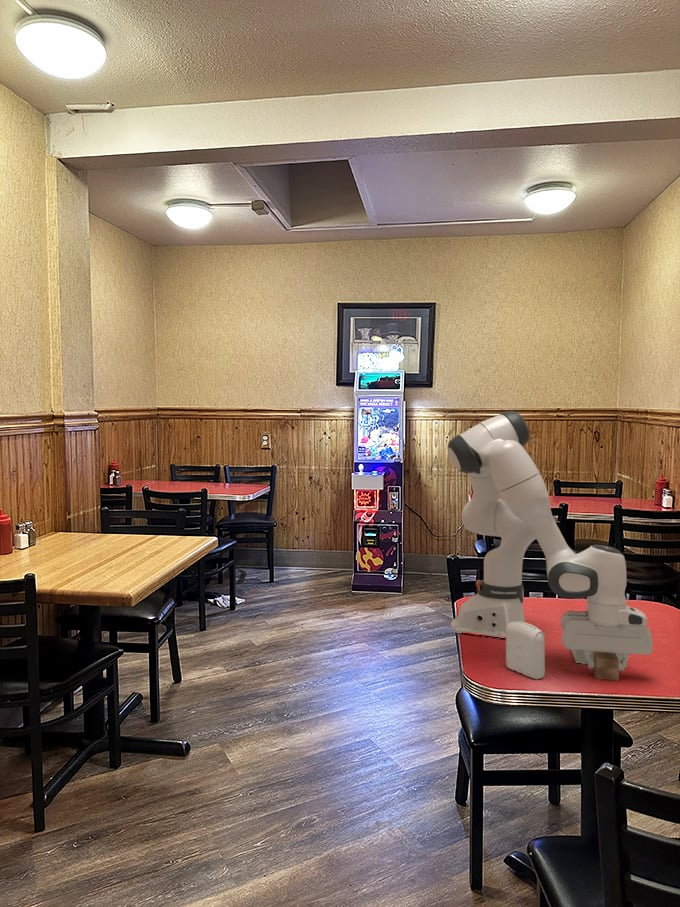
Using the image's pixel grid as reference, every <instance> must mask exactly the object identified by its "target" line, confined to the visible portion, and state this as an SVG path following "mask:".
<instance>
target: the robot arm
mask: <svg viewBox="0 0 680 907" xmlns="http://www.w3.org/2000/svg"><path fill="white" fill-rule="evenodd" d="M529 439H530V429H529V427H528V424H527V422H526V421H525V419H524V417H523V416H522V415H521V414H520V413H518V412H517V411H514V410H508V411H504V412H502V413H499V414H498V415H496V416H493V417H489V418H488V419H485V420H483V421H480V422H478V424H476V425H474V426H472V427H470V428H468V429H467V430H465V431H463V432H462V433H460V434H457V435H455V436H454V437H452V438H451V439H450V440H449V441H448V444H447V452H448V454H447V455H448V458H449V461H450V462H451V465H453V466H454V468H456V469H457V471H458V472H461V473H463V474H467V475H468V479H469V481H470V485H471V489H472V497H471V498H470V500H469V501H468V502H466V503H465V504H464V506H463V509H462V512H461V522H462V524H463V526H464V529H466V530H467V531H469V532H472V533H474V534H478V535H482V536H490V537H500V538H501V541H500V545H499V546H498V547H495V548H493V549H491V550H490V551H488V552H487V553H486V555H485V556H484V558H483V581H482V580H480V579H477V580H476V581H475V586H476V592H477V593H476V594H475V595H473V596H471V597H470V598H468V599H467V600H466V601H464V602H463V603H462V604H461V606H460V608H459V611H458V614H457V617H455V618H453V619H452V620H451V622H450V629H451V630H452V632H453V633H455V634H461V633H462V632H471V633H478V634H484V635H490V636H497V637H506V628H507V625H508V624H509V623H511V622H516V621H520V622H526V620H525V616H524V615H525V614H524V609H523V605H524V604H523V603H524V594H525V593H524V585H523V580H522V579H523V575H522V574H523V562H524V557H525V553H526V551H527V549H528V548H529V547H530V545H531V543H533V542H534V541H535V540H536V541H537V542H538V544H539V547H540V548H541V550H542V552H543V554H544V557H545V570H546V575H547V584H548V586H549V588H550V591H552V592H553V593H554V594H555V595H556V596H558V597H560V598H563V599H566V600H567V599H569V600H571V599H583V598H586V611H585V610H584V611H583V610H577V611H574V610H567V611H566V612H563V613H562V615H561V617H560V625H561V628H562V634H561V643H562V646H563V647H564V648H565V649H566V650H571V651H572V650H583V652H584V655H585V656H586V658H587V660H588V665H587V666H588V669H590V670H591V669H595V660H591V659H590V657H589V655H591V651H599V652H613V653H621V654H622V656H623V657H622V659H621V660H620V662H619V672H625V667H624V664H625V663H626V662H627V663H628V660H629V659H630V654H631V655H642V656H643V655H645V656H649V655H651V653H652V652H653V650H654V648H653V637H652V632H651V629H650V628H649V627H648V626H647V625H648V617H647V616H646V614H645V612H643V611H641V610H640V609H638V608H636V607H632V606H629V605H627V598H626V595H625V594H626V587H627V565H626V559H625V555H624V554H623V553H622V552H621V551H620V550H619V549H617V548H614V547H613V546H608V545H604V544H591V545H590V546H589V547H588V548H586V549H584V550H582V551H580V552H576V551H575V550H574V549H573V548H572V547H570V546H569V544H568V543H567V541H566V540H565V537H564V536H563V534H562V532H561V530H560V528H559V527H558V525H557V523H556V521H555V518H554V516H553V513H552V510H551V509H552V508H551V502H550V495H549V493H548V489H547V487H546V484H545V481H544V478H543V477H542V475H541V473H540V471H539V468H538V467H537V466H536V464H535V463H534V460H533V459H532V458H531V455H529V453H528V452H527V450H525V448H524V446H525V445H526V444H527V443H529Z"/></svg>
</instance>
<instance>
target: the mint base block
mask: <svg viewBox="0 0 680 907" xmlns="http://www.w3.org/2000/svg"><path fill="white" fill-rule="evenodd" d="M594 652H599V651H594ZM608 653H613V652H608ZM571 654H572V656H573V659H574V658H575V659H574V662H575V661H576V662H575V664H576V663H581V664H580V665H585V664H588V660H587V658H586V656H585V655H584V652H583V650H571ZM615 654H616V656H617V657H618V659H619V662H620V660H621V659H622V657H623V656H622V654H621V653H615ZM589 657H590V659H591V660H593V651H591V655H589ZM627 667H628V661H627V662H626V663H625V664H624V669H626V668H627Z"/></svg>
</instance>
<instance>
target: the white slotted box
mask: <svg viewBox="0 0 680 907" xmlns="http://www.w3.org/2000/svg"><path fill="white" fill-rule="evenodd" d="M545 638H546V637H545V633H544V632H543V631H542V630H541V629H540V628H538V627H537V626H535V625H533V624H531V623H529V622H526V621H525V622H520V621H516V622H511V623H509V624H508V625H507V628H506V639H505V665H506V666H507V667H508V668H510V669H509V670H511V669H512V670H511V671H513V670H515V671H517V672H516V673H518V672H519V673H518V674H520V673H522V674H521V675H523V674H524V675H523V676H526V677H528V678H531V679H535V680H541V679H543V678H544V677H545V674H546V669H545V668H546V667H545V666H546V663H545V661H546V659H545V658H546V657H545V656H546V654H545V651H546V649H545V647H546V645H545V641H546V640H545ZM507 667H506V668H507ZM508 668H507V669H508ZM515 671H514V672H515ZM540 678H541V679H540Z"/></svg>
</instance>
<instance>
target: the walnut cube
mask: <svg viewBox="0 0 680 907" xmlns="http://www.w3.org/2000/svg"><path fill="white" fill-rule="evenodd" d="M593 660H595V669H593V670H592V672H593V671H594V672H593V674H594V673H595V674H594V677H595V676H596V677H595V679H596V678H598V679H597V680H602V679H607V680H606V681H613V682H614V681H615V682H619V680H620V671H619V659H618V657H617V656H616V654H615V653H608V652H594V651H593Z"/></svg>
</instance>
